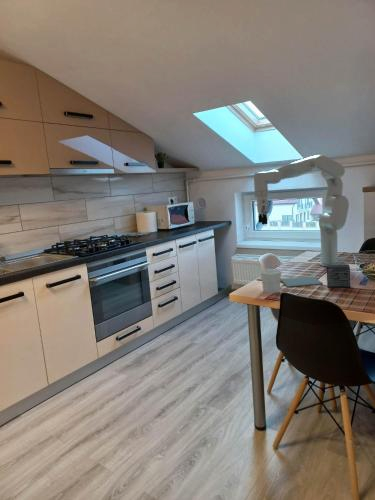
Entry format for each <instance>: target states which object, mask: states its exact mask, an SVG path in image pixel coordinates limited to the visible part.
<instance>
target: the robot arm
mask: <svg viewBox="0 0 375 500" xmlns="http://www.w3.org/2000/svg"><path fill="white" fill-rule="evenodd" d="M345 170H346V169H345V167H344V165H342V164H341V163H339V162H338V161H336V160H335V159H332V158H330V157H328V156H326V155H323V154H317V155H313V156H309V157H306V158H303V159H299V160H297V161H294V162H291V163H288V164H286V165H282V166H280V167H276V168H274V169H271V170H268V171H259V172H254V173H253V187H254V198H256V209H257V213H258V216H257V218H258V224H259V223H261V225H268V214H269V212H270V211H269V201H268V196H269V190H268V189H269V188H268V185H277V184H279V183H280V182H281V181H282V180H283V181H284V180H285V179H293V178H297V177H298V178H299V177H301V176H304V175H307V174H310V173H312V172H316V171H320V174H321V177H322V178H323V179H324V180H325V182H326V184H327V188H326V193H325V199H324V208H325V210H328V211H331V212H324V213H322V214H321V215H320V216H319V219H318V225H319V230H320V259H321V260H320V261H318V265H319V266H321V267H327V265H342V264H341V261H346V259H347V257H346V256H343V257H342V256H339V253H338V251H339V250H338V245H339V243H338V238H339V237H338V231H340V230H342V229H343V228H344V227H345V224H346V221H347V217H348V213H349V206H350V203H349V199H348V198H347V196H345V195H342V194H343V187H344V186H343V184H344V183H343V180H342V177H343V176H345V172H346V171H345Z"/></svg>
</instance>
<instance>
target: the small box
mask: <svg viewBox="0 0 375 500" xmlns="http://www.w3.org/2000/svg"><path fill="white" fill-rule="evenodd" d="M350 269H351V266H350V265H349V264H340V265H327V266H326V285H327V286H326V287H327V288H331V289H333V288H336V289H337V288H339V289H341V288H342V289H343V288H344V289H346V288H351V270H350Z"/></svg>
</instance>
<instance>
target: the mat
mask: <svg viewBox="0 0 375 500" xmlns="http://www.w3.org/2000/svg"><path fill="white" fill-rule="evenodd" d="M280 282H282V284H284V286H285V287H287V288H295V287H297V288H298V287H306V286H308V287H309V286H317V285H319V286H320V285H324V284H323V281H320V280H319V279H318V278H316V277H315V276H313V275H311V276H300V277H291V278H289V277H288V278H281V279H280Z"/></svg>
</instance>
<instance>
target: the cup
mask: <svg viewBox="0 0 375 500" xmlns="http://www.w3.org/2000/svg"><path fill="white" fill-rule="evenodd" d="M281 275H282V270H280V269H275V268H272V269H271V268H270V269H269V268H268V269H263V270H261V271H260V279H261V282H262V283H261V284H262V291H263V293H267V294H275V293H279V292H280V290H281V280H280V279H282V277H281Z"/></svg>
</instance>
